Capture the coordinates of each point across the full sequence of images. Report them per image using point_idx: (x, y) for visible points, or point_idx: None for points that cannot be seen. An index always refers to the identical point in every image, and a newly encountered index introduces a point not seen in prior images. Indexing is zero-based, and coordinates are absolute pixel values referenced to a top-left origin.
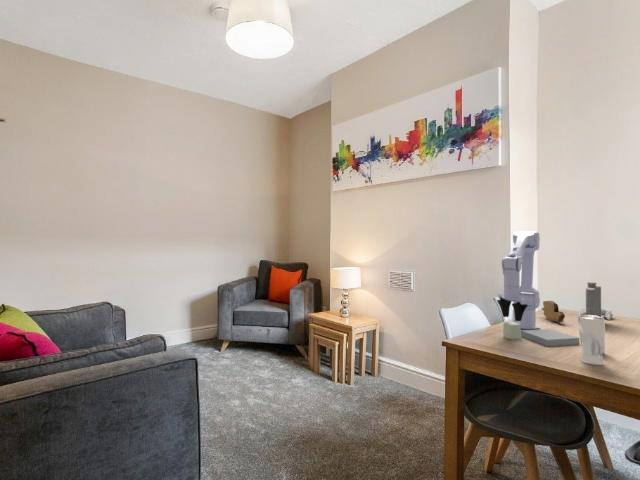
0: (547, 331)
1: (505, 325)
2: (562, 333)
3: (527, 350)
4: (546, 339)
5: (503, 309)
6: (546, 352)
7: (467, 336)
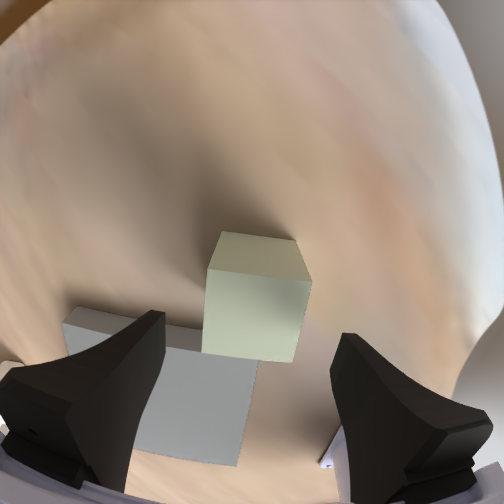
0: (200, 436)
1: (281, 269)
2: (158, 449)
3: (40, 162)
4: (65, 324)
5: (371, 383)
6: (12, 226)
7: (376, 30)
